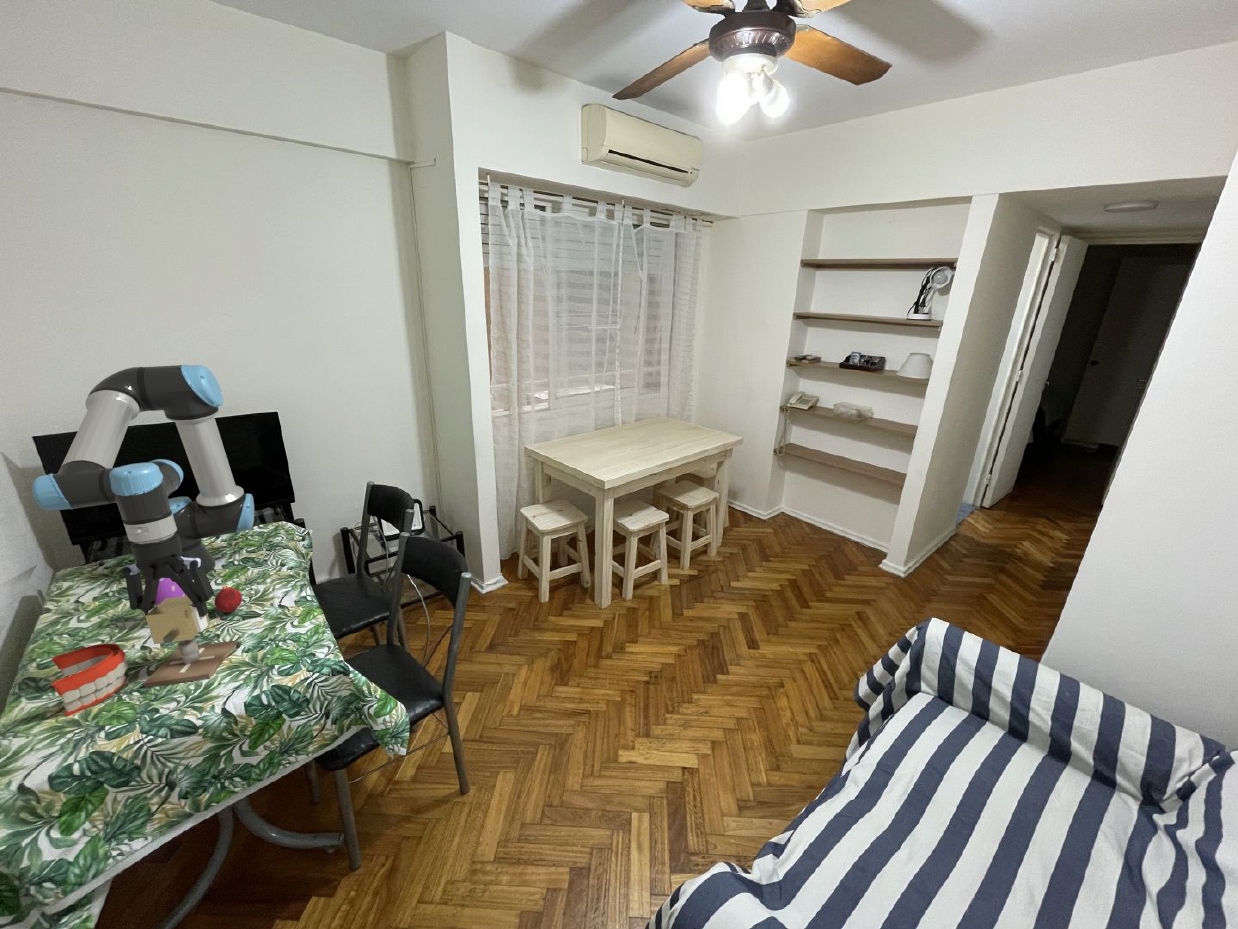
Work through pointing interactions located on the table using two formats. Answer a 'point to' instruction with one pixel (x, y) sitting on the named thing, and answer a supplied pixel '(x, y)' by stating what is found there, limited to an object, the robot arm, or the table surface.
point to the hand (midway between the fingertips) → (182, 631)
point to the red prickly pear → (228, 599)
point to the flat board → (190, 663)
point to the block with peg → (172, 621)
